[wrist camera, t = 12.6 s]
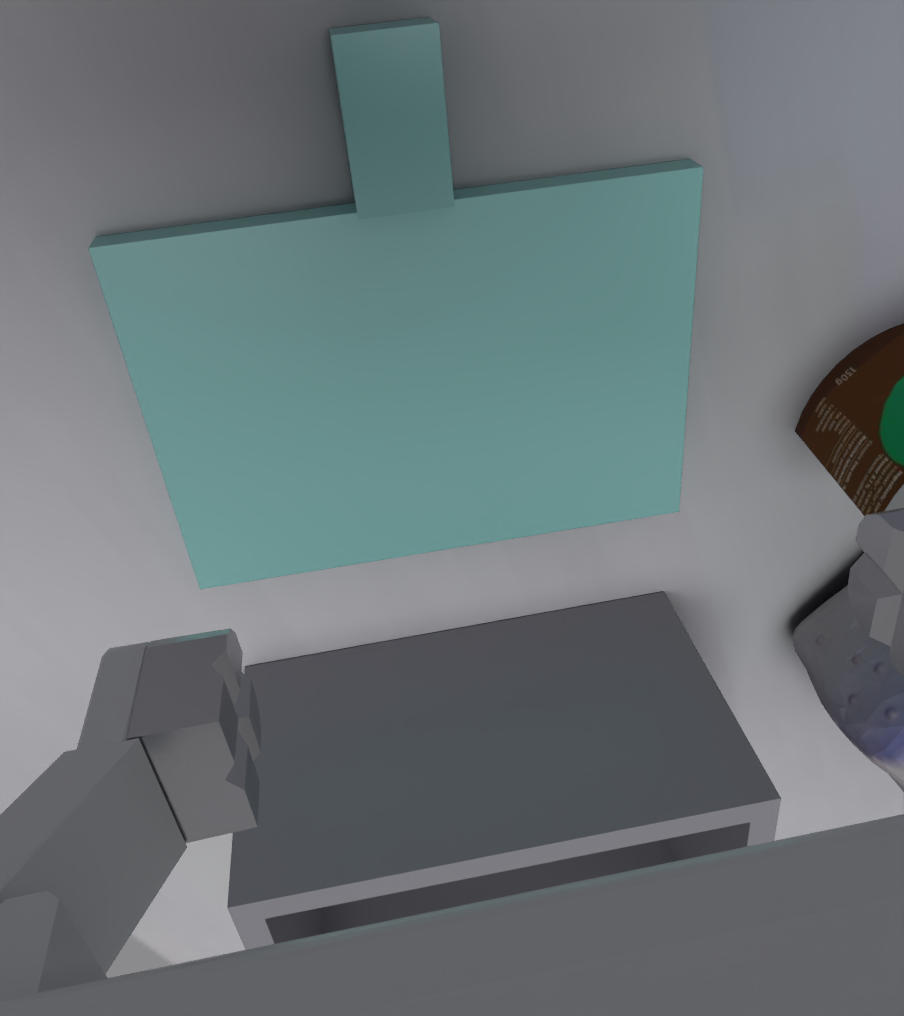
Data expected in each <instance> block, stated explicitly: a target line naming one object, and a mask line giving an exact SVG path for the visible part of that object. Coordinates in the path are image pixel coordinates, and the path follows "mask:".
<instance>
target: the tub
mask: <svg viewBox="0 0 904 1016" xmlns="http://www.w3.org/2000/svg"><path fill="white" fill-rule="evenodd" d="M245 675H246V676H248V677H249V678H251V680H252V684H253V687H254V690H255V693H256V698H257V703H258V707H259V714H260V725H261V753H260V754H259V755H258V757H257V758H256V759H255V760H254V762H253V763H254V766H255V769H256V772H257V775H258V778H259V781H260V787H259V809H258V827H255V828H250V829H246V830H242V831H237V832H233V840H232V854H231V867H230V881H229V894H228V910H229V912H230V915H231V917H232V919H233V922H234V924H235V926H236V929H237V931H238V933H239V936H240V938H241V940H242V943H243V945H244V947H245V949H246V950H247V949H252V948H257V947H262V946H267V945H272V944H277V943H281V942H286V941H291V940H296V939H301V938H306V937H311V936H315V935H320V934H325V933H330V932H335V931H340V930H344V929H349V928H354V927H359V926H364V925H369V924H374V923H378V922H383V921H388V920H393V919H398V918H403V917H408V916H412V915H417V914H422V913H427V912H432V911H437V910H442V909H446V908H451V907H456V906H461V905H466V904H471V903H475V902H480V901H485V900H490V899H495V898H500V897H505V896H509V895H514V894H519V893H524V892H529V891H534V890H539V889H543V888H548V887H553V886H558V885H563V884H568V883H573V882H577V881H582V880H587V879H592V878H597V877H602V876H607V875H611V874H616V873H621V872H626V871H631V870H636V869H641V868H645V867H650V866H655V865H660V864H665V863H670V862H675V861H679V860H684V859H689V858H694V857H699V856H704V855H708V854H713V853H718V852H723V851H728V850H733V849H738V848H742V847H747V846H752V845H757V844H762V843H767V842H772V841H774V837H775V831H776V825H777V819H778V813H779V807H780V801H781V797H780V796H779V794H778V792H777V790H776V789H775V787H774V785H773V783H772V782H771V780H770V778H769V776H768V775H767V773H766V771H765V769H764V767H763V766H762V764H761V762H760V760H759V759H758V757H757V755H756V753H755V752H754V750H753V748H752V746H751V745H750V743H749V741H748V739H747V738H746V736H745V734H744V732H743V730H742V729H741V727H740V725H739V723H738V722H737V720H736V718H735V716H734V715H733V713H732V711H731V709H730V708H729V706H728V704H727V702H726V701H725V699H724V697H723V695H722V694H721V692H720V690H719V688H718V686H717V685H716V683H715V681H714V679H713V678H712V676H711V674H710V672H709V671H708V669H707V667H706V665H705V664H704V662H703V660H702V658H701V657H700V655H699V653H698V651H697V649H696V648H695V646H694V644H693V642H692V641H691V639H690V637H689V635H688V634H687V632H686V630H685V628H684V627H683V625H682V623H681V621H680V620H679V618H678V616H677V614H676V612H675V611H674V609H673V607H672V605H671V604H670V602H669V600H668V598H667V597H666V595H665V593H664V592H659V593H653V594H647V595H642V596H636V597H631V598H625V599H620V600H614V601H609V602H603V603H597V604H592V605H586V606H581V607H575V608H570V609H564V610H558V611H553V612H547V613H542V614H536V615H531V616H525V617H519V618H514V619H508V620H503V621H497V622H492V623H486V624H481V625H475V626H469V627H464V628H458V629H453V630H447V631H442V632H436V633H430V634H425V635H419V636H414V637H408V638H403V639H397V640H391V641H386V642H380V643H375V644H369V645H364V646H358V647H352V648H347V649H341V650H336V651H330V652H325V653H319V654H314V655H308V656H302V657H297V658H291V659H286V660H280V661H275V662H269V663H263V664H258V665H252V666H247V667H245Z"/></svg>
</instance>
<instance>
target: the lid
mask: <svg viewBox="0 0 904 1016" xmlns="http://www.w3.org/2000/svg"><path fill="white" fill-rule="evenodd" d="M329 34H330V41H331V48H332V54H333V61H334V68H335V74H336V81H337V88H338V95H339V101H340V108H341V115H342V121H343V128H344V135H345V141H346V148H347V155H348V162H349V168H350V175H351V182H352V188H353V195H354V202H355V203H350V204H343V205H335V206H327V207H320V208H312V209H304V210H297V211H289V212H282V213H274V214H266V215H259V216H251V217H244V218H236V219H228V220H221V221H213V222H205V223H198V224H190V225H183V226H175V227H167V228H160V229H152V230H145V231H137V232H129V233H122V234H114V235H106V236H99V237H95V239H94V240H93V242H92V243H91V245H90V246H89V248H88V249H89V252H90V255H91V258H92V261H93V264H94V267H95V270H96V273H97V276H98V279H99V282H100V285H101V288H102V291H103V294H104V297H105V301H106V304H107V307H108V310H109V313H110V316H111V319H112V322H113V325H114V328H115V331H116V334H117V337H118V340H119V343H120V346H121V349H122V352H123V355H124V359H125V362H126V365H127V368H128V371H129V374H130V377H131V380H132V383H133V386H134V389H135V392H136V395H137V398H138V401H139V404H140V407H141V410H142V413H143V416H144V420H145V423H146V426H147V429H148V432H149V435H150V438H151V441H152V444H153V447H154V450H155V453H156V456H157V459H158V462H159V465H160V468H161V471H162V474H163V478H164V481H165V484H166V487H167V490H168V493H169V496H170V499H171V502H172V505H173V508H174V511H175V514H176V517H177V520H178V523H179V526H180V529H181V532H182V535H183V539H184V542H185V545H186V548H187V551H188V554H189V557H190V560H191V563H192V566H193V569H194V572H195V575H196V578H197V581H198V584H199V587H200V589H204V588H211V587H217V586H223V585H229V584H235V583H241V582H248V581H254V580H260V579H266V578H272V577H278V576H285V575H291V574H297V573H303V572H309V571H315V570H322V569H328V568H334V567H340V566H346V565H353V564H359V563H365V562H371V561H377V560H383V559H390V558H396V557H402V556H408V555H414V554H420V553H427V552H433V551H439V550H445V549H451V548H457V547H464V546H470V545H476V544H482V543H488V542H495V541H501V540H507V539H513V538H519V537H525V536H532V535H538V534H544V533H550V532H556V531H562V530H569V529H575V528H581V527H587V526H593V525H599V524H606V523H612V522H618V521H624V520H630V519H637V518H643V517H649V516H655V515H661V514H667V513H674V512H679V504H680V490H681V476H682V462H683V448H684V434H685V420H686V406H687V392H688V378H689V364H690V350H691V336H692V322H693V307H694V293H695V279H696V265H697V251H698V237H699V223H700V209H701V195H702V181H703V166H701V165H699V164H698V163H696V162H694V161H692V160H691V159H685V160H678V161H670V162H662V163H655V164H647V165H639V166H632V167H624V168H617V169H609V170H601V171H594V172H586V173H579V174H571V175H563V176H556V177H548V178H540V179H533V180H525V181H518V182H510V183H502V184H495V185H487V186H480V187H472V188H464V189H457V190H453V182H452V170H451V158H450V147H449V135H448V123H447V112H446V100H445V88H444V77H443V65H442V53H441V42H440V30H439V22H437V21H435V20H434V19H432V18H431V17H426V18H417V19H408V20H400V21H391V22H383V23H374V24H365V25H357V26H348V27H340V28H331V29H329Z"/></svg>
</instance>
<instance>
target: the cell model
mask: <svg viewBox="0 0 904 1016" xmlns="http://www.w3.org/2000/svg"><path fill="white" fill-rule="evenodd" d="M847 588H848V585H847V586H846V587H844V588H843V589H842V590H840V591H839V592H838V593H836V594H835V595H834V596H832V597H831V598H830V599H828V600H827V601H826V602H824V603H823V604H822V605H821V606H820V607H818V608H817V609H816V610H815V611H814V612H812V613H811V614H810V615H809V616H808V617H807V618H805V619H804V620H803V621H802V622H801V623H800V624H799V625H798V626H797V627H796V628H795V631H794V634H793V642H794V647H795V651H796V653H797V654H798V656H799V658H800V659H801V661H802V663H803V664H804V666H805V668H806V669H807V672H808V675H809V677H810V679H811V681H812V684H813V686H814V688H815V690H816V693H817V695H818V697H819V699H820V701H821V703H822V705H823V706H824V708H825V709H826V711H827V712H828V714H829V715H830V717H831V718H832V720H833V721H834V722H835V724H836V725H837V726H838V727H839V729H840V730H841V731H842V732H843V733H844V734H845V736H846V737H847V738H848V739H849V740H850V741H851V742H852V744H853V745H854V746H856V747H857V748H858V749H859V750H860V751H861V752H862V753H863V754H864V755H865V756H866V757H867V758H869V759H870V760H871V761H872V762H873V763H874V764H876V765H877V766H878V767H880V768H881V769H882V770H884V771H885V772H887V773H888V774H889V775H890V776H891V777H892V779H893V780H894V781H895V782H896V783H897V784H898V786H899V787H900V788H901V789H902V790H903V792H904V678H903V676H902V675H901V674H900V673H899V672H898V671H897V669H896V668H895V667H894V666H893V665H892V663H891V662H890V661H889V655H890V646H889V645H886V644H884V643H882V642H880V641H878V640H875V639H873V638H871V637H869V636H868V635H867V633H866V632H865V631H864V630H863V628H862V627H861V626H860V625H859V623H858V621H857V619H856V617H855V615H854V613H853V611H852V609H851V605H850V600H849V595H848V590H847Z"/></svg>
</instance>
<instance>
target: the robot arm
mask: <svg viewBox="0 0 904 1016" xmlns="http://www.w3.org/2000/svg"><path fill="white" fill-rule="evenodd" d="M856 542H857V543H858V545H859V546H860V547H861V549H862V550H863V551H864V553H863V554H862V556H861V557H860V558H859V559H858V560H857V561H856V562H855V564H854V565H853V566H852V567H851V568H850V574H849V581H848V588H847V590H848V595H849V600H850V605H851V609H852V611H853V613H854V615H855V617H856V619H857V621H858V623H859V625H860V626H861V627H862V628H863V630H864V631H865V632H866V633H867V635H868V636H869V637H871V638H873V639H875V640H878V641H880V642H882V643H884V644H886V645H889V646H890V655H889V661H890V662H891V663H892V665H893V666H894V667H895V668H896V669H897V671H898V672H899V673H900V674H901V675H902V676H903V678H904V508H900V509H894V510H889V511H883V512H878V513H873V514H867V515H865V517H864V518H863V520H862V521H861V523H860V524H859V528H858V532H857V537H856ZM241 669H242V650H241V647H240V644H239V641H238V639H237V636H236V633H235V632H234V631H233V630H232V629H224V630H218V631H212V632H205V633H199V634H193V635H186V636H180V637H174V638H167V639H161V640H154V641H151V642H145V643H139V644H133V645H127V646H121V647H115V648H109V649H108V650H107V652H106V653H105V654H104V655H103V656H102V658H101V662H100V666H99V669H98V673H97V677H96V680H95V684H94V688H93V691H92V695H91V699H90V702H89V706H88V710H87V714H86V717H85V721H84V725H83V728H82V732H81V736H80V739H79V743H78V747H77V750H72V751H67V752H64V753H63V754H62V755H61V756H60V757H59V758H58V759H57V760H56V761H55V762H54V763H53V764H52V765H51V766H50V767H49V768H48V769H47V770H45V771H44V772H43V773H42V774H41V775H40V776H39V777H38V778H37V779H36V780H35V781H34V782H33V783H32V784H31V785H30V786H29V787H28V788H27V789H26V790H25V791H24V792H23V793H22V794H21V795H20V796H19V797H18V798H17V799H16V800H15V801H14V802H13V803H12V804H11V805H10V806H9V807H8V808H7V809H6V810H5V811H4V812H3V813H2V814H1V815H0V1016H904V814H903V815H898V816H893V817H888V818H883V819H878V820H874V821H869V822H864V823H859V824H854V825H849V826H844V827H840V828H835V829H830V830H825V831H820V832H815V833H810V834H806V835H801V836H796V837H791V838H786V839H781V840H776V841H772V842H767V843H762V844H757V845H752V846H747V847H742V848H738V849H733V850H728V851H723V852H718V853H713V854H708V855H704V856H699V857H694V858H689V859H684V860H679V861H675V862H670V863H665V864H660V865H655V866H650V867H645V868H641V869H636V870H631V871H626V872H621V873H616V874H611V875H607V876H602V877H597V878H592V879H587V880H582V881H577V882H573V883H568V884H563V885H558V886H553V887H548V888H543V889H539V890H534V891H529V892H524V893H519V894H514V895H509V896H505V897H500V898H495V899H490V900H485V901H480V902H475V903H471V904H466V905H461V906H456V907H451V908H446V909H442V910H437V911H432V912H427V913H422V914H417V915H412V916H408V917H403V918H398V919H393V920H388V921H383V922H378V923H374V924H369V925H364V926H359V927H354V928H349V929H344V930H340V931H335V932H330V933H325V934H320V935H315V936H311V937H306V938H301V939H296V940H291V941H286V942H281V943H277V944H272V945H267V946H262V947H257V948H252V949H247V950H243V951H238V952H233V953H228V954H223V955H218V956H213V957H209V958H204V959H199V960H194V961H189V962H184V963H180V964H175V965H170V966H165V967H160V968H155V969H150V970H146V971H141V972H136V973H131V974H126V975H121V976H117V977H112V978H107V977H106V975H105V974H106V972H107V971H108V969H109V968H110V966H111V965H112V963H113V961H114V960H115V958H116V957H117V955H118V954H119V952H120V950H121V949H122V947H123V946H124V944H125V943H126V941H127V940H128V938H129V936H130V935H131V933H132V932H133V930H134V929H135V927H136V926H137V924H138V923H139V921H140V919H141V918H142V916H143V915H144V913H145V912H146V910H147V909H148V907H149V905H150V904H151V902H152V901H153V899H154V898H155V896H156V895H157V893H158V891H159V890H160V888H161V887H162V885H163V884H164V882H165V881H166V879H167V877H168V876H169V874H170V873H171V871H172V870H173V868H174V867H175V865H176V863H177V862H178V860H179V859H180V857H181V856H182V854H183V853H184V851H185V849H186V848H187V846H186V843H188V842H192V841H197V840H201V839H206V838H210V837H215V836H219V835H224V834H228V833H233V832H237V831H242V830H246V829H250V828H255V827H258V809H259V787H260V781H259V778H258V775H257V772H256V769H255V766H254V763H253V762H254V760H255V759H256V758H257V757H258V755H259V754H260V753H261V725H260V714H259V707H258V703H257V698H256V693H255V690H254V687H253V684H252V680H251V678H249V677H248V676H246V675H245V674H243V673H242V672H241Z"/></svg>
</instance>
